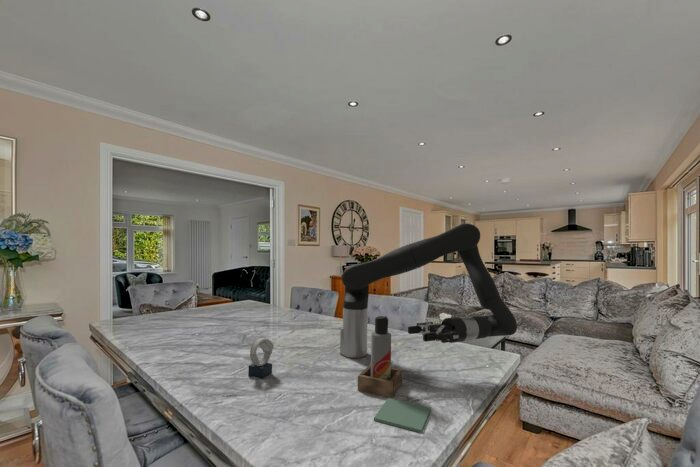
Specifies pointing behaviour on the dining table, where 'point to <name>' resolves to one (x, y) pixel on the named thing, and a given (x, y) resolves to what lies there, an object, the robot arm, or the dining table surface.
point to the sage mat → (403, 414)
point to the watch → (261, 367)
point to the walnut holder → (380, 383)
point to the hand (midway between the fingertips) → (415, 333)
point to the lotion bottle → (381, 349)
